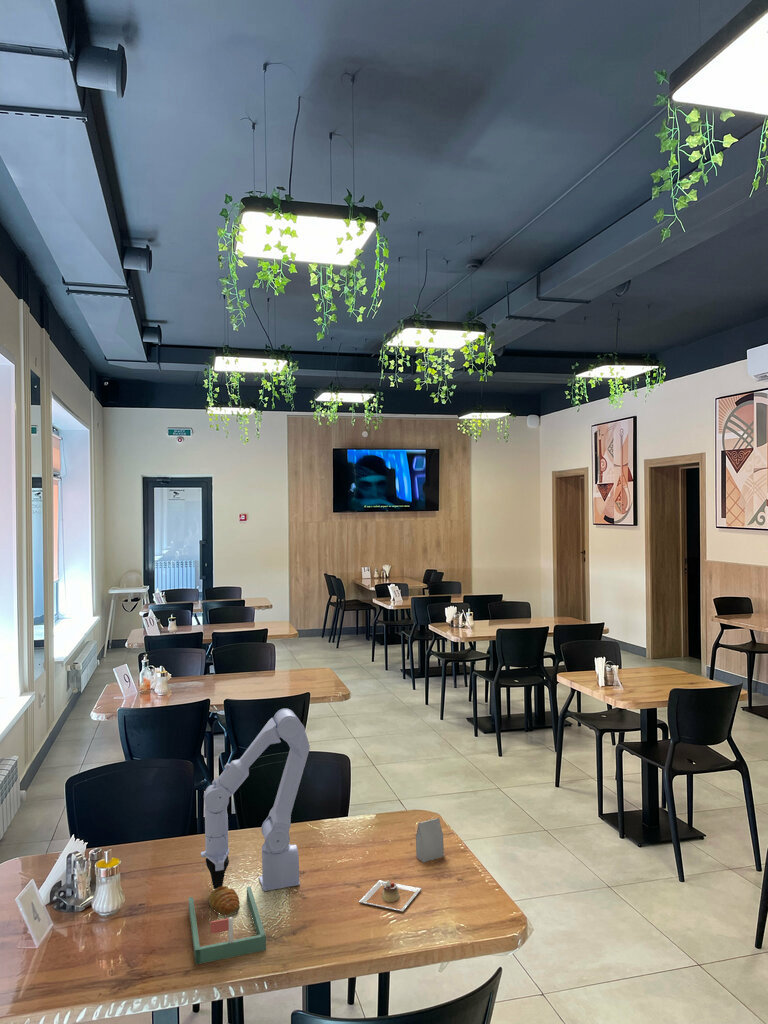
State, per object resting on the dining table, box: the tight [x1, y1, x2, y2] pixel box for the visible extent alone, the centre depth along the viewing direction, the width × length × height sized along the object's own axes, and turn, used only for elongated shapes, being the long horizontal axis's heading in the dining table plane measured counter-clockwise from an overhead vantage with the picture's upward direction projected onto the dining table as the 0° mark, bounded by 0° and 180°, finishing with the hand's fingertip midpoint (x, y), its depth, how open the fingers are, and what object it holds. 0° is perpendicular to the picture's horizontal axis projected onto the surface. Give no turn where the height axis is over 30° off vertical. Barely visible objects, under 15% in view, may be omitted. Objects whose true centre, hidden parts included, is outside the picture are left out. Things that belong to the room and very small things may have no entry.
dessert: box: [358, 879, 422, 912], centre depth 178 cm, size 12×12×5 cm
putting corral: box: [188, 886, 267, 965], centre depth 166 cm, size 15×24×8 cm, turn 18°
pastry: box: [208, 885, 241, 917], centre depth 175 cm, size 9×7×4 cm
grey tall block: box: [415, 817, 445, 863], centre depth 200 cm, size 4×7×10 cm, turn 119°
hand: (217, 887), depth 183 cm, fingers closed
